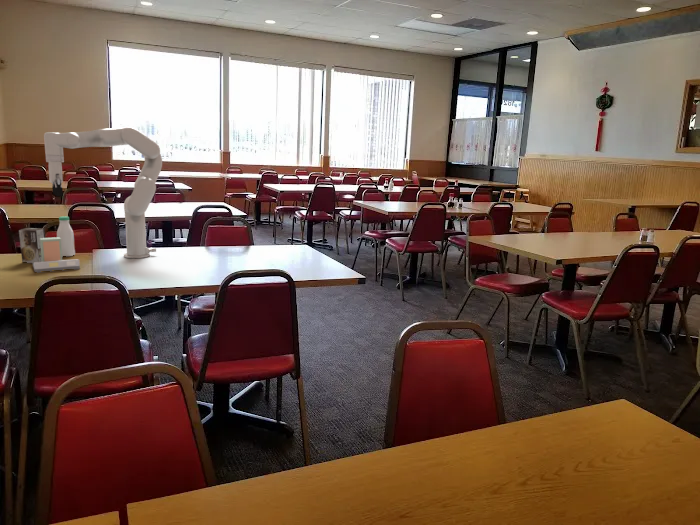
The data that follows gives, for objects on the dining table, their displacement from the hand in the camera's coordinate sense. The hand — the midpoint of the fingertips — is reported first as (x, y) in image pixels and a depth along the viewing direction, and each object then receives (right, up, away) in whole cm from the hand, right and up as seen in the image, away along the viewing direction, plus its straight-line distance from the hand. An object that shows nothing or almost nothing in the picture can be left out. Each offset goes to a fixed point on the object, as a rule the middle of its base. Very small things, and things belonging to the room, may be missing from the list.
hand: (57, 195), depth 261 cm
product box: (+3, -33, -9) cm, 35 cm away
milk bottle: (-5, -29, +18) cm, 35 cm away
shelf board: (+4, -35, -9) cm, 36 cm away
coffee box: (-12, -32, +1) cm, 35 cm away
